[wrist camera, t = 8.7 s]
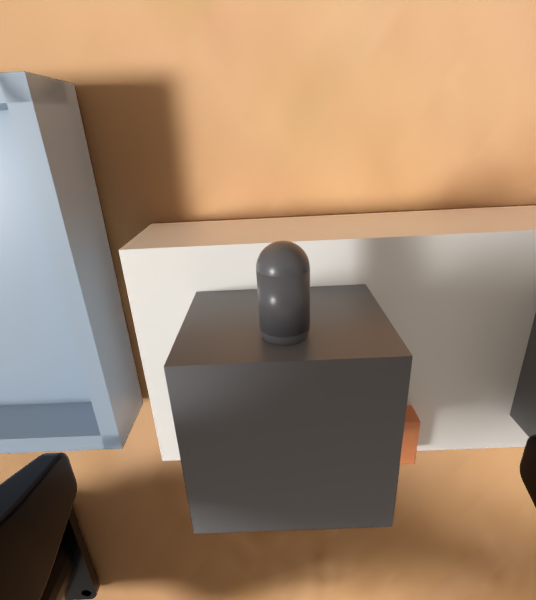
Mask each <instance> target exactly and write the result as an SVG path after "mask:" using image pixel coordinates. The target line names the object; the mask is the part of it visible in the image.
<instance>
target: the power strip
mask: <svg viewBox="0 0 536 600" xmlns="http://www.w3.org/2000/svg"><path fill="white" fill-rule="evenodd" d="M276 241H290V242H293V243H295V244H297V245H298V246H300V247H301V248H302V249H303V250H304V251H305V253H306V255H307V256H308V259H309V264H310V287H313V286H335V285H357V284H366V286H367V287H368V289H369V290H370V292H371V293H372V295H373V296H374V298H375V299H376V301H377V302H378V304H379V305H380V307H381V308H382V310H383V311H384V313H385V314H386V316H387V318H388V319H389V321H390V322H391V324H392V325H393V327H394V328H395V330H396V331H397V333H398V334H399V336H400V337H401V339H402V340H403V342H404V343H405V345H406V346H407V348H408V349H409V351H410V353H411V354H412V356H413V358H412V367H411V375H410V383H409V392H408V400H407V408H406V417H405V425H404V433H403V441H402V450H401V458H400V464H415V458H416V451H425V450H451V449H476V448H501V447H525V446H526V442H527V440H528V438H529V437H530V436H531V435H536V205H530V206H509V207H488V208H467V209H447V210H426V211H405V212H384V213H364V214H343V215H322V216H302V217H281V218H260V219H239V220H219V221H198V222H177V223H156V224H150V225H149V226H148V227H147V228H145V229H144V230H143V231H142V232H140V233H139V234H138V235H137V236H135V237H134V238H133V239H132V240H130V241H129V242H128V243H127V244H125V245H124V246H123V247H122V248H120V249H119V255H120V260H121V265H122V269H123V274H124V279H125V284H126V288H127V293H128V298H129V303H130V308H131V312H132V317H133V322H134V327H135V332H136V336H137V341H138V346H139V351H140V356H141V360H142V365H143V370H144V375H145V380H146V384H147V389H148V394H149V399H150V403H151V408H152V413H153V418H154V423H155V427H156V432H157V437H158V442H159V447H160V451H161V456H162V461H171V460H181V459H180V454H179V448H178V443H177V437H176V432H175V426H174V421H173V415H172V410H171V404H170V399H169V393H168V388H167V383H166V377H165V372H164V365H165V362H166V360H167V358H168V355H169V353H170V351H171V349H172V346H173V344H174V342H175V339H176V337H177V335H178V332H179V330H180V328H181V326H182V323H183V321H184V319H185V316H186V314H187V312H188V310H189V307H190V305H191V303H192V300H193V298H194V296H195V294H196V292H202V291H224V290H246V289H257V277H256V263H257V259H258V257H259V255H260V253H261V251H262V250H263V249H264V248H265V247H266V246H268V245H269V244H271V243H273V242H276Z"/></svg>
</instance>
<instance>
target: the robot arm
mask: <svg viewBox="0 0 536 600" xmlns="http://www.w3.org/2000/svg"><path fill="white" fill-rule="evenodd" d="M520 474H521V478H522V480H523V482H524V484H525V486H526V489H527V491H528V493H529V495H530V497H531V499H532V501H533V503H534V505H535V507H536V435H531V436H530V437H529V438H528V440H527V442H526V446H525V449H524V453H523V456H522V460H521V463H520ZM76 492H77V483H76V479H75V476H74V473H73V470H72V467H71V464H70V461H69V458H68V456H67V455H66V454H65V453H45V454H42V455H40V456H39V457H37V458H36V459H35V460H33V461H32V462H30V463H29V464H28V465H26V466H25V467H23V468H22V469H21V470H19V471H18V472H17V473H15V474H14V475H12V476H11V477H10V478H8V479H7V480H6V481H4V482H3V483H1V484H0V600H81V599H93V598H94V597H95V596H96V595H97V592H98V589H99V587H100V586H99V582H98V579H97V576H96V573H95V570H94V568H93V565H92V562H91V559H90V556H89V554H88V551H87V548H86V545H85V542H84V540H83V537H82V534H81V531H80V528H79V526H78V523H77V520H76V517H75V514H74V512H73V509H72V506H73V502H74V499H75V496H76Z"/></svg>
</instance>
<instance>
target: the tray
mask: <svg viewBox="0 0 536 600" xmlns="http://www.w3.org/2000/svg"><path fill="white" fill-rule="evenodd" d="M142 404H143V399H142V394H141V390H140V385H139V381H138V376H137V371H136V367H135V362H134V358H133V353H132V348H131V344H130V339H129V335H128V330H127V325H126V321H125V316H124V312H123V307H122V302H121V298H120V293H119V289H118V284H117V279H116V275H115V270H114V266H113V261H112V256H111V252H110V247H109V243H108V238H107V234H106V229H105V224H104V220H103V215H102V211H101V206H100V201H99V197H98V192H97V188H96V183H95V178H94V174H93V169H92V165H91V160H90V155H89V151H88V146H87V142H86V137H85V132H84V128H83V123H82V119H81V114H80V109H79V105H78V100H77V96H76V91H75V86H74V84H72V83H69V82H65V81H61V80H57V79H53V78H49V77H45V76H41V75H37V74H33V73H29V72H25V71H22V72H4V73H0V453H25V452H50V451H75V450H100V449H123V446H124V444H125V442H126V440H127V438H128V435H129V433H130V431H131V429H132V426H133V424H134V422H135V420H136V418H137V415H138V413H139V411H140V409H141V407H142Z"/></svg>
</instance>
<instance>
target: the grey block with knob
mask: <svg viewBox="0 0 536 600" xmlns="http://www.w3.org/2000/svg"><path fill="white" fill-rule="evenodd" d="M256 277H257V289H246V290H224V291H202V292H196V294H195V296H194V298H193V300H192V303H191V305H190V307H189V310H188V312H187V314H186V316H185V319H184V321H183V323H182V326H181V328H180V330H179V332H178V335H177V337H176V339H175V342H174V344H173V346H172V349H171V351H170V353H169V355H168V358H167V360H166V362H165V365H164V372H165V377H166V383H167V388H168V393H169V399H170V404H171V410H172V415H173V421H174V426H175V432H176V437H177V443H178V448H179V454H180V459H181V465H182V470H183V476H184V481H185V487H186V492H187V498H188V503H189V509H190V514H191V519H192V525H193V530H194V534H203V533H231V532H258V531H286V530H314V529H341V528H369V527H392V525H393V516H394V508H395V500H396V491H397V483H398V475H399V466H400V458H401V450H402V441H403V433H404V425H405V417H406V408H407V400H408V392H409V383H410V375H411V367H412V358H413V356H412V354H411V353H410V351H409V349H408V348H407V346H406V345H405V343H404V342H403V340H402V339H401V337H400V336H399V334H398V333H397V331H396V330H395V328H394V327H393V325H392V324H391V322H390V321H389V319H388V318H387V316H386V314H385V313H384V311H383V310H382V308H381V307H380V305H379V304H378V302H377V301H376V299H375V298H374V296H373V295H372V293H371V292H370V290H369V289H368V287H367V286H366V284H357V285H335V286H313V287H310V264H309V259H308V256H307V255H306V253H305V251H304V250H303V249H302V248H301V247H300V246H298V245H297V244H295V243H293V242H290V241H276V242H273V243H271V244H269V245H268V246H266V247H265V248H264V249H263V250H262V251H261V253H260V255H259V257H258V259H257V263H256Z"/></svg>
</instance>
